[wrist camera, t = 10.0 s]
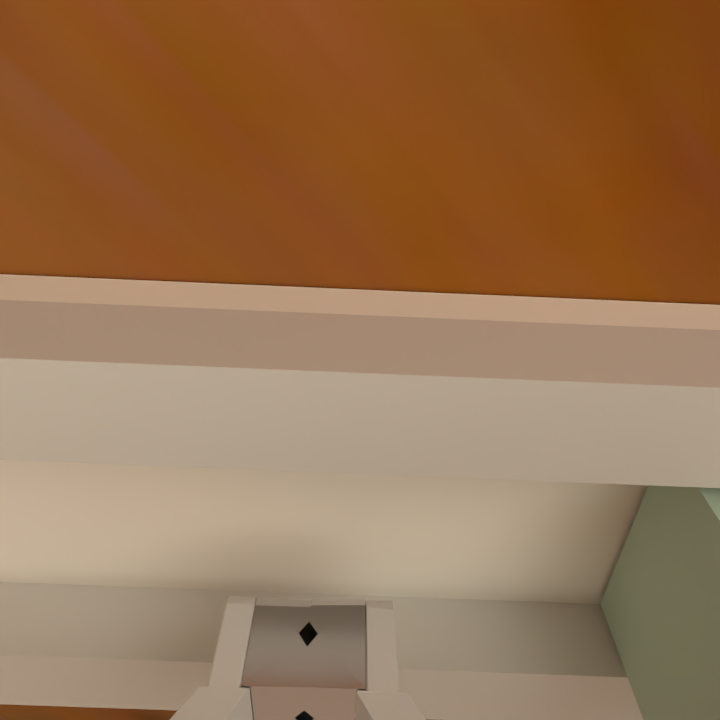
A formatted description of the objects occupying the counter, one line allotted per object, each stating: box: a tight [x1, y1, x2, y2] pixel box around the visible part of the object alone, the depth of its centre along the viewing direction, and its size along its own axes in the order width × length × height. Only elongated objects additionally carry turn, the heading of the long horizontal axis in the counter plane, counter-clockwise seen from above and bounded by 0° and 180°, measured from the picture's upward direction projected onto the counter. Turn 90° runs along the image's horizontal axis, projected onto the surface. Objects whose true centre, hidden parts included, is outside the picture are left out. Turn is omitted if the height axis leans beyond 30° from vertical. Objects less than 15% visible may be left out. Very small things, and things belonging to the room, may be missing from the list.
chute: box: [0, 274, 720, 720], centre depth 13 cm, size 26×10×3 cm, turn 88°
